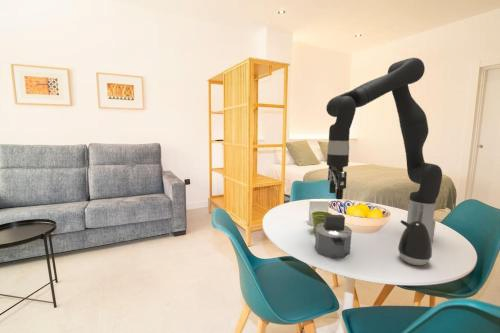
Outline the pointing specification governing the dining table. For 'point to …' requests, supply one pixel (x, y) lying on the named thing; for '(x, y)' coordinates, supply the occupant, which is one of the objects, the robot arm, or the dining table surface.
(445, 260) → the dining table surface
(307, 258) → the dining table surface
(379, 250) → the dining table surface
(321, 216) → the plant pot
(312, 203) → the white tall block
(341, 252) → the pot
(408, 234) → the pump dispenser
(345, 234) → the lid
